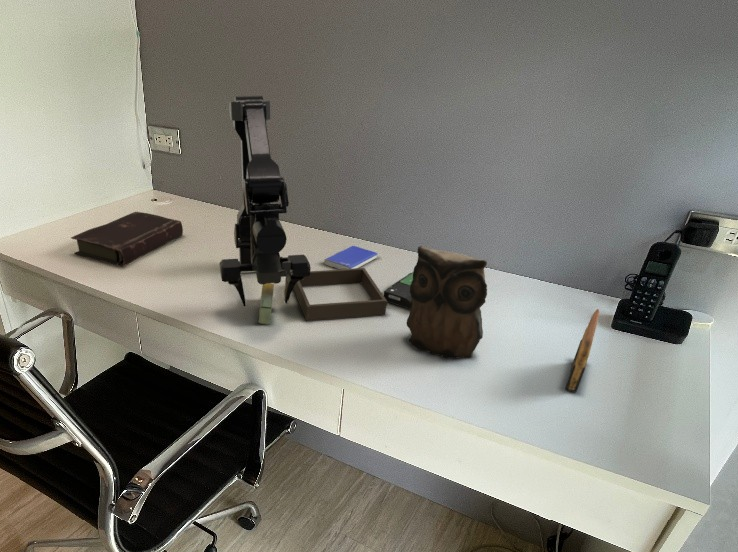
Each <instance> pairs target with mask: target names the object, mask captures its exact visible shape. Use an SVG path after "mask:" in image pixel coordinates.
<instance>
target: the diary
mask: <svg viewBox="0 0 738 552" xmlns="http://www.w3.org/2000/svg"><path fill="white" fill-rule="evenodd" d="M183 235H184V229H183V223H182V221H181V220H178V219H173V218H169V217H165V216H161V215H157V214H153V213H148V212H142V211H141V212H140V211H133V212H131V213H128V214H126V215H124V216H122V217H119V218H117V219H115V220H113V221H110V222H107V223H106V224H102V225H99V226H96V227H93V228H89V229H87V230H85V231H83V232H80V233H77V234H75V235H73V236H71V237H70V239H72V240H76V243H77V248H78V251H76V252H74V255H76V256H80V257H84V258H88V259H92V260H95V261H96V260H97V261H99V262H103V263H106V264H111V265H115V266H118V267H125V266H127V265H128V264H130V263H132V262H134V261H135V260H137V259H139V258H142V257H143V256H145V255H148V254H149V253H151V252H154V251H156V250H158V249H159V248H161V247H163V246H165V245H166V244H168V243H170V242H172V241H174V240H177V239H179V238H181V237H182V236H183Z"/></svg>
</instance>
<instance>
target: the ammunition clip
mask: <svg viewBox="0 0 738 552" xmlns="http://www.w3.org/2000/svg"><path fill="white" fill-rule="evenodd" d="M599 317H600V309H599V308H597V309H596V310H595V311H594V312H593V314H592V315H591V318H590V319H589V321H588V325H587V326H586V328H585V330H584V332H583V336H582V338H581V339H580V341H579V344H578V347H577V349H576V352H575V355H574V357H573V358H574V359H573V361H572V364H571V367H570V370H569V374H568V377H567V381H566V384H565V388H564V390H565V391H568V392H572V393H577V392H578V388H579V387H580V383H581V380H582V378H583V375H584V372H585V370H586V366H587V363H588V359H589V356H590V353H591V350H592V346H593V341H594V337H595V333H596V329H597V326H598V321H599Z"/></svg>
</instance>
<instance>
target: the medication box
mask: <svg viewBox="0 0 738 552" xmlns="http://www.w3.org/2000/svg"><path fill="white" fill-rule="evenodd" d="M274 288H275V284H274V283H267V284H262V286H261V293H260V301H259V308H258V316H257V324H259V325H270V323H271V316H272V311H273V309H272V308H273V299H274V290H275V289H274Z"/></svg>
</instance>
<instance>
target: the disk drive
mask: <svg viewBox="0 0 738 552" xmlns="http://www.w3.org/2000/svg"><path fill="white" fill-rule="evenodd" d="M412 281H413V271H412V272H410V273H408V274H407V275H405V276H403V277H402V278H400V279H399V280H397V281H396V282H395V283H393V284H392V285H390V286H389V287H387V288H386V289H384V290H383V296H384V297H385V299H386V300H387V303H390V304H393V305H395V306H396V305H397V306H400V307H402V308H405V309H408V310H410V308H411V306H412V298H411V294H410V286H411V282H412Z"/></svg>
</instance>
